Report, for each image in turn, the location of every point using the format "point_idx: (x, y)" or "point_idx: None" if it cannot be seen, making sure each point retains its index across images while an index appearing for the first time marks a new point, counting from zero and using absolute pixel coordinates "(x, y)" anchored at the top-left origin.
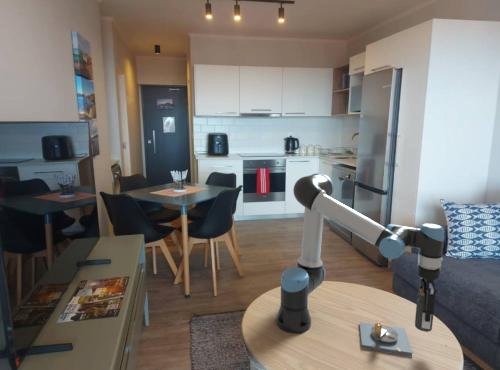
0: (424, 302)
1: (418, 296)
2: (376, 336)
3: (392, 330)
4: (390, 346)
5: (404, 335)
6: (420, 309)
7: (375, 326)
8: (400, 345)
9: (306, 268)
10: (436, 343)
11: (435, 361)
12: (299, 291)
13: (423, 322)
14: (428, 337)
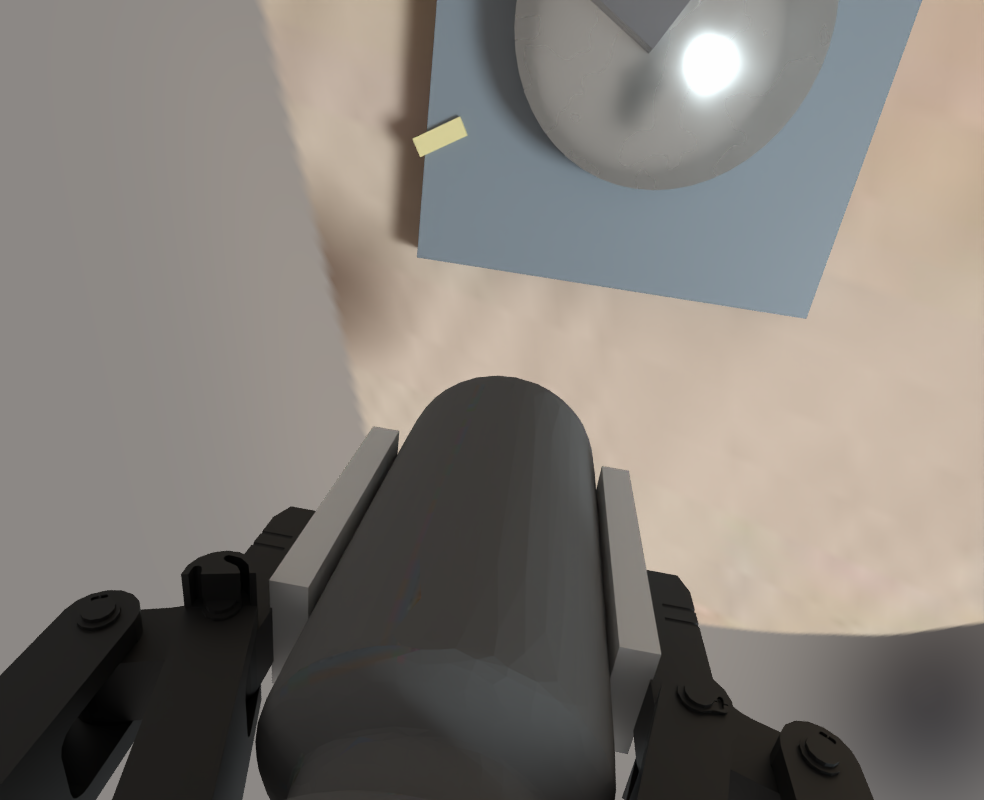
0: (182, 775)
1: (800, 748)
2: None
3: (707, 147)
4: (482, 62)
5: (681, 276)
6: (355, 566)
7: None
8: (512, 180)
9: None
10: None
11: (401, 408)
12: None
13: (345, 478)
14: (699, 479)
